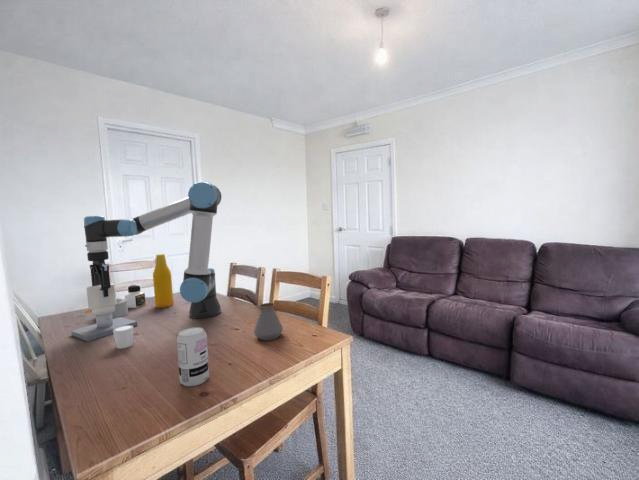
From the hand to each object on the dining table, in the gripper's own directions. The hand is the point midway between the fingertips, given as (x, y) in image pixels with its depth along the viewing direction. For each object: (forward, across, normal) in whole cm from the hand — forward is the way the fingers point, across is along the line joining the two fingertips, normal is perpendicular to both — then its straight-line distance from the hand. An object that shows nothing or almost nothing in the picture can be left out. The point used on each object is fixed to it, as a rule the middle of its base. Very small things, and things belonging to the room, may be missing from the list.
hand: (102, 303), depth 140 cm
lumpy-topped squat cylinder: (+13, -21, +12) cm, 27 cm away
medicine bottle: (+13, -29, +26) cm, 41 cm away
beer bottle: (+13, -14, +35) cm, 40 cm away
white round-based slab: (+4, 0, -1) cm, 4 cm away
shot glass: (+13, +27, -4) cm, 30 cm away
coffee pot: (+13, +66, +31) cm, 74 cm away
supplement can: (+13, +75, -5) cm, 76 cm away
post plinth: (+13, 0, 0) cm, 13 cm away
